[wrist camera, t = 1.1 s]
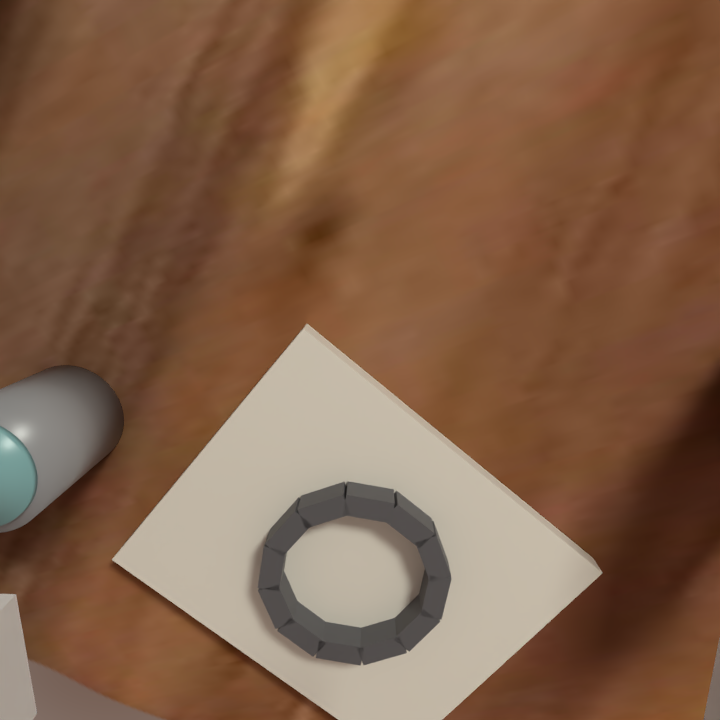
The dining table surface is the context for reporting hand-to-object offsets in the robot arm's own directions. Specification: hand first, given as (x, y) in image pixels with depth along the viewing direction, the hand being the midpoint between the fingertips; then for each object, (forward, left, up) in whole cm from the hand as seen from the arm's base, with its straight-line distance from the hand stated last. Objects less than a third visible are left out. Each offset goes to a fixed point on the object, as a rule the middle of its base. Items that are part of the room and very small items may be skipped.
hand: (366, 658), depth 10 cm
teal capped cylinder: (-11, -13, -21) cm, 28 cm away
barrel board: (+7, -9, -21) cm, 24 cm away
